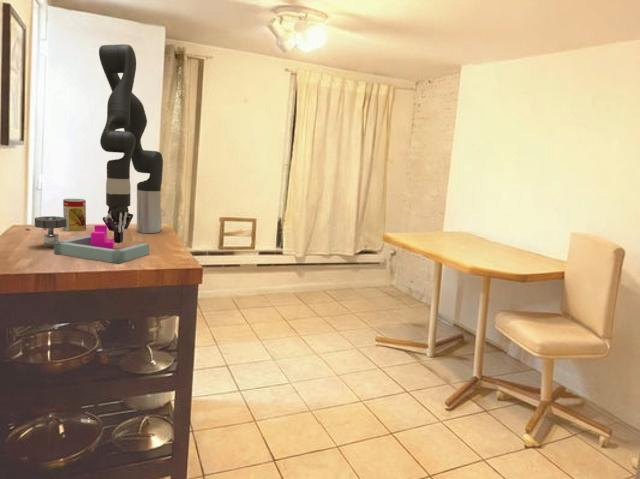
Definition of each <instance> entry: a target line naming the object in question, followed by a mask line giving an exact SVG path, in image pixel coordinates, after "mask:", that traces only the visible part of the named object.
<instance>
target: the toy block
mask: <svg viewBox="0 0 640 479" xmlns="http://www.w3.org/2000/svg"><path fill="white" fill-rule="evenodd" d="M93 229H94V231H91V232H90V236H91V246H95V247H101V248H108V249H115V242H114V238H108V227H107V226H106V224H95V225H94V228H93Z"/></svg>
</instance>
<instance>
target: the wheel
mask: <svg viewBox="0 0 640 479" xmlns="http://www.w3.org/2000/svg"><path fill="white" fill-rule="evenodd" d="M48 218H53V219H48ZM34 227H35V228H38V229H48V228H54V229H61V228H64V227H66V218H65V217H64V216H53V215H51V216H49V215H47V216H46V215H45V216H37V217H34Z"/></svg>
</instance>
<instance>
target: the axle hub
mask: <svg viewBox="0 0 640 479" xmlns="http://www.w3.org/2000/svg"><path fill="white" fill-rule="evenodd" d="M48 219H53V218H48ZM54 229H55V228H47V233H44V234H43V236H42V237H43V248H47V249H54V243H55V242H60V239H59V238H60V236H59V234H58V233H55V232H54Z"/></svg>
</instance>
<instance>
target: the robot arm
mask: <svg viewBox="0 0 640 479" xmlns="http://www.w3.org/2000/svg"><path fill="white" fill-rule="evenodd" d="M98 57H99V61H100V64H101V67H102V70H103V72H104V74H105V78H106V80H107V82H108V85H109V87H110V89H111V93H110V95H109V97H108V100H107V108H106V109H107V111H106V112H107V113H106V122H105V126H104V128H103V131H102V133H101V135H100V139H99V142H100V147H101V148H102V150H103V151H104V152H107V153H122V154H123V156H122V157H121V158H116V159H110V160H108V161H107V163H106V183H105V205H106V206H107V207H108V210H107V215H106V216H103V217H102V222H104V225H106V226H107V230H109V231H111V232H113V239H114V244H122V243H123V241H124V232H125V230H127V229H128V228H129V226H130V224H131V222H132V219H133V218H134V213H130V211H129V210H130V209H129V207H130V206H131V179H130V177H131V176H130V175H131V174H130V172H131V171H130V170H131V164H132V166H133V169H134V170H135V171H136V172H137V173H141V174H149V177H148V178H147V179H146V180H143V181H140V182H137V183H136V232H137V233H143V234H156V233H160V232H161V231H162V208H161V207H162V206H161V202H162V201H161V200H162V199H161V197H162V196H161V195H162V194H161V193H162V192H161V189H162V184H163V170H164V169H163V168H164V158H163V155H162V153H161V152H159V151H156V150H147V149H146V150H145V149H143V147H142V136H143V135H144V133H145V130H146V127H147V124H148V118H147V115H146V111H145V107H144V105H143V103H142V101H141V100H140V99H139V98H138V97H137V96H136V95H135V93H134V92H133V88H134V83H135V76H136V72H137V57H136V53H135V51H134V48H133V47H132V46H131V44H104V45H100V47H99V49H98ZM119 74H122V77H120V75H119ZM120 129H123V130H120Z"/></svg>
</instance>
